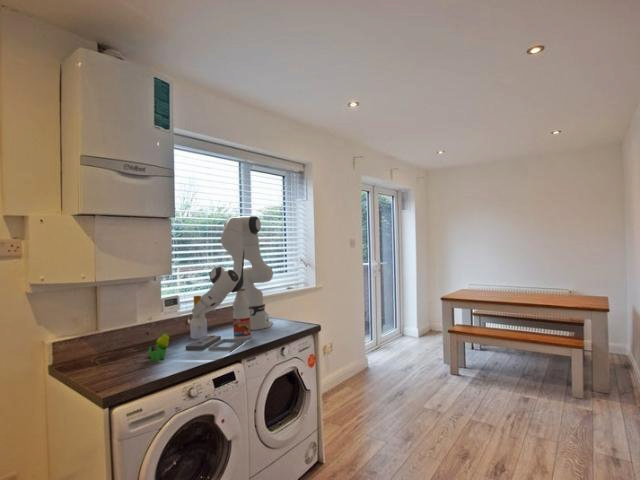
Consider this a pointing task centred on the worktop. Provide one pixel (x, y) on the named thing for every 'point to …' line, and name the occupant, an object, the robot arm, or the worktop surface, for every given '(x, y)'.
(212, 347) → the tray
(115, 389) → the worktop surface
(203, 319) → the charger
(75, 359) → the worktop surface
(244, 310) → the fruit juice
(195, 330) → the soap bottle
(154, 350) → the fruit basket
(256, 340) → the worktop surface
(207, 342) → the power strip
